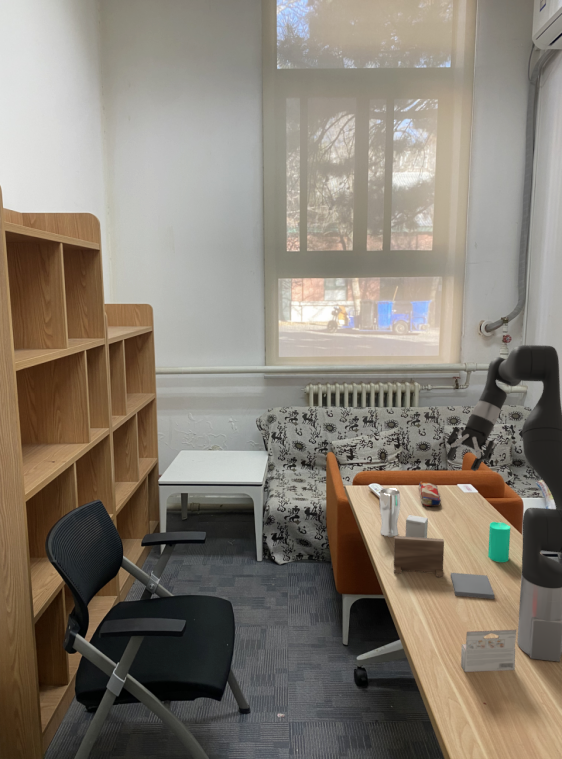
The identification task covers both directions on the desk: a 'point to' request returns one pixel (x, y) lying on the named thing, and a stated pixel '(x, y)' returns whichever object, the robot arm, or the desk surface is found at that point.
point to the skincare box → (416, 526)
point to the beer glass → (389, 511)
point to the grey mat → (472, 585)
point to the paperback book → (429, 494)
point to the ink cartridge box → (489, 651)
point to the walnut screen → (418, 555)
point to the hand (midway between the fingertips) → (460, 464)
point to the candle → (499, 542)
